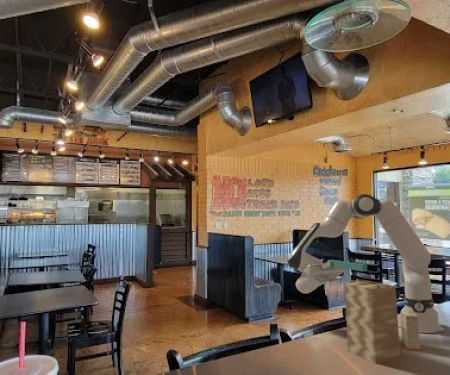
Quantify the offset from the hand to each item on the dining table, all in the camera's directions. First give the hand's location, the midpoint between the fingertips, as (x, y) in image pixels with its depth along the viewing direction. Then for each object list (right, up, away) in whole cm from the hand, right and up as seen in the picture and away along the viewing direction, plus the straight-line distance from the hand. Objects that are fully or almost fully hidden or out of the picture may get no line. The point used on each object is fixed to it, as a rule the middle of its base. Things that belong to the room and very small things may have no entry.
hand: (334, 262), depth 158 cm
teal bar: (+3, -1, -7) cm, 7 cm away
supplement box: (+27, -31, -14) cm, 43 cm away
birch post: (+8, -31, -21) cm, 38 cm away
